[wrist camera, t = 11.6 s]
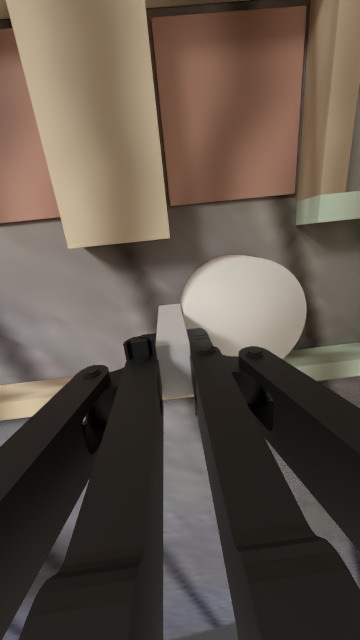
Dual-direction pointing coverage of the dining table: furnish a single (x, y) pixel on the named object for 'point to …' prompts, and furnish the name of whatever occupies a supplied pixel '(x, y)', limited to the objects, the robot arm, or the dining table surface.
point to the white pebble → (245, 304)
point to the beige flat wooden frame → (173, 126)
